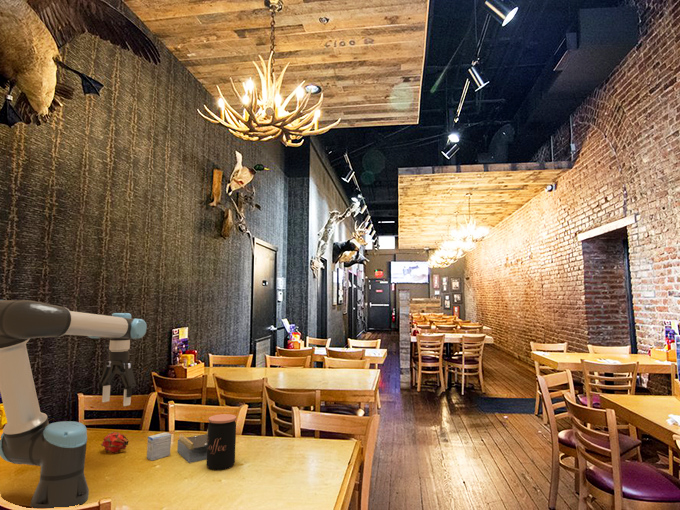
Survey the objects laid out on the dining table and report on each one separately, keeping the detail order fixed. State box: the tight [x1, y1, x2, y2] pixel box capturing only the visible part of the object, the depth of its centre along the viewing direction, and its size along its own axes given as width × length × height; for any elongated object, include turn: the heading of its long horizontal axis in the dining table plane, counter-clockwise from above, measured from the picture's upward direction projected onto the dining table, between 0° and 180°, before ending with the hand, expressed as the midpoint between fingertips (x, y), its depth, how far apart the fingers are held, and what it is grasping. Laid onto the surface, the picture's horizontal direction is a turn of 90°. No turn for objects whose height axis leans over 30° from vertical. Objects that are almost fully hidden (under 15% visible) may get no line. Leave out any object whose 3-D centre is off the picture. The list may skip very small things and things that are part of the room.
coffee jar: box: [206, 413, 237, 471], centre depth 164 cm, size 11×11×18 cm
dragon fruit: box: [101, 431, 130, 454], centre depth 179 cm, size 8×8×12 cm
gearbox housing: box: [176, 429, 208, 464], centre depth 177 cm, size 16×17×7 cm
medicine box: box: [146, 432, 172, 462], centre depth 173 cm, size 8×4×9 cm, turn 141°
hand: (116, 403), depth 172 cm, fingers open, 13 cm apart
